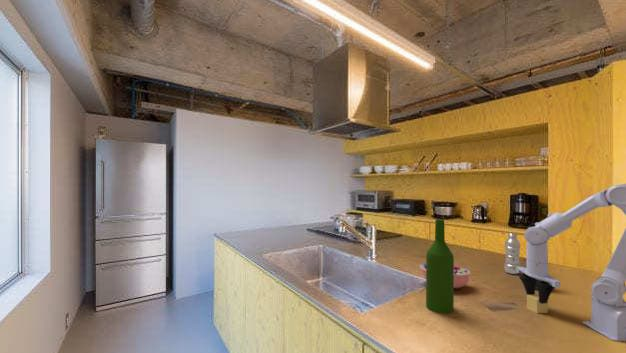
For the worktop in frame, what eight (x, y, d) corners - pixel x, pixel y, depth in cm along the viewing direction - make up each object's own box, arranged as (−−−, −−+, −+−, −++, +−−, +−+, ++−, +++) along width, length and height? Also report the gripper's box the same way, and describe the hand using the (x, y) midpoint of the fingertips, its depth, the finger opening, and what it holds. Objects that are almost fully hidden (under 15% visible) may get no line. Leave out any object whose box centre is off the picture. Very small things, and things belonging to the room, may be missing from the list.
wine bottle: (439, 302, 103) (439, 217, 103) (459, 314, 94) (459, 221, 94) (420, 306, 99) (420, 218, 99) (440, 318, 91) (440, 222, 91)
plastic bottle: (501, 272, 135) (501, 232, 135) (509, 270, 138) (509, 231, 138) (515, 276, 130) (515, 235, 130) (523, 274, 132) (523, 233, 132)
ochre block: (547, 316, 92) (547, 299, 93) (536, 317, 92) (536, 299, 92) (537, 311, 96) (537, 294, 96) (526, 311, 96) (526, 294, 96)
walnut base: (538, 323, 88) (538, 319, 88) (500, 322, 89) (500, 318, 89) (514, 306, 100) (514, 302, 100) (480, 304, 101) (480, 301, 101)
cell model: (475, 299, 106) (475, 270, 106) (420, 292, 112) (420, 264, 112) (466, 283, 122) (466, 258, 122) (418, 277, 128) (418, 253, 128)
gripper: (568, 267, 88) (568, 309, 88) (528, 254, 102) (528, 290, 102) (549, 268, 87) (549, 310, 87) (511, 255, 101) (511, 291, 101)
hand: (536, 299), depth 94 cm, fingers open, 4 cm apart
